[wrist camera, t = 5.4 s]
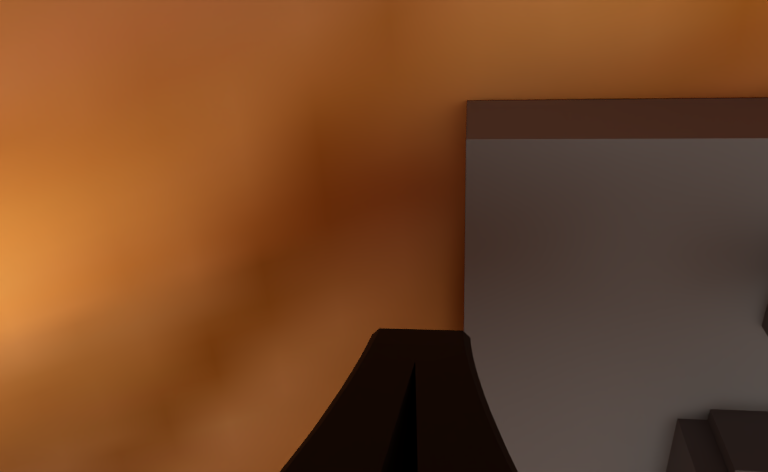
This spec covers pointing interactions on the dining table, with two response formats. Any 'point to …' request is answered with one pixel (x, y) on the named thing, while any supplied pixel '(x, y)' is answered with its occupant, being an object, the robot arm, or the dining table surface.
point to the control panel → (620, 281)
